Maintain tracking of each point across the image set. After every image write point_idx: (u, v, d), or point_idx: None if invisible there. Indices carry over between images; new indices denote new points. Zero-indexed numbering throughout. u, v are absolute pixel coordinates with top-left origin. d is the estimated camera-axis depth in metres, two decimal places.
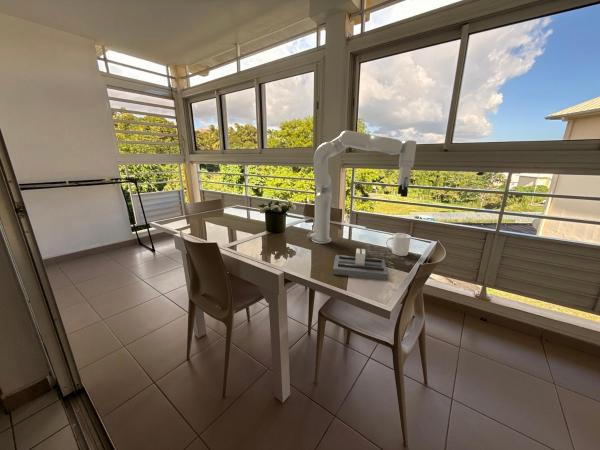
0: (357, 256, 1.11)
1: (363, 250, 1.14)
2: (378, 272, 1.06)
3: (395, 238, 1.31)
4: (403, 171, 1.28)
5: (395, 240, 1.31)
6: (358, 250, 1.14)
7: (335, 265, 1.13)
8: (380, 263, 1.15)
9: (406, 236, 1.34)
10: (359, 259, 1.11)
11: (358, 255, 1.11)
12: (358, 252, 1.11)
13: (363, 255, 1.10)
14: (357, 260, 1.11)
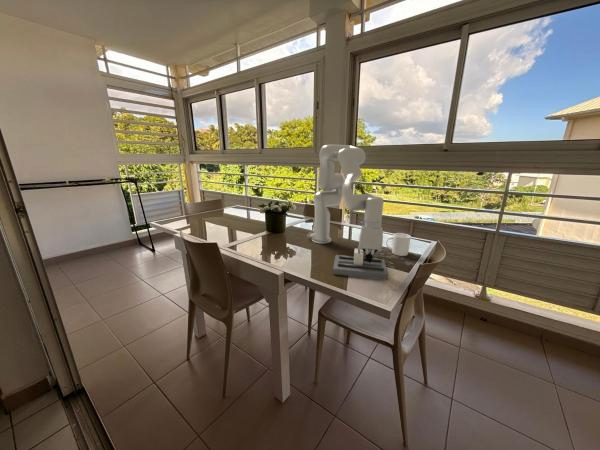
0: (355, 256, 1.11)
1: (361, 250, 1.14)
2: (378, 272, 1.06)
3: (395, 238, 1.31)
4: (382, 233, 1.07)
5: (395, 240, 1.31)
6: (356, 250, 1.14)
7: (335, 265, 1.13)
8: (380, 263, 1.15)
9: (406, 236, 1.34)
10: (357, 259, 1.11)
11: (356, 255, 1.11)
12: (356, 252, 1.12)
13: (361, 255, 1.10)
14: (355, 260, 1.12)
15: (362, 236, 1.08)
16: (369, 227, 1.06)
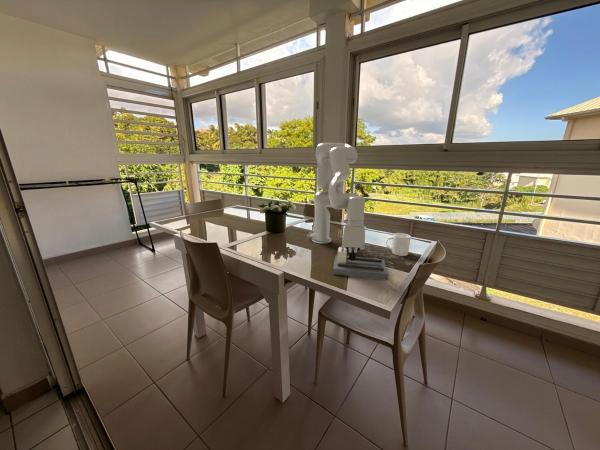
0: (338, 254, 1.13)
1: (345, 248, 1.16)
2: (378, 272, 1.06)
3: (395, 238, 1.31)
4: (364, 232, 1.09)
5: (395, 240, 1.31)
6: (340, 248, 1.15)
7: (335, 265, 1.13)
8: (380, 263, 1.15)
9: (406, 236, 1.34)
10: (340, 257, 1.13)
11: (340, 253, 1.12)
12: (340, 250, 1.13)
13: (344, 253, 1.12)
14: (339, 258, 1.13)
15: (345, 235, 1.10)
16: (351, 226, 1.07)
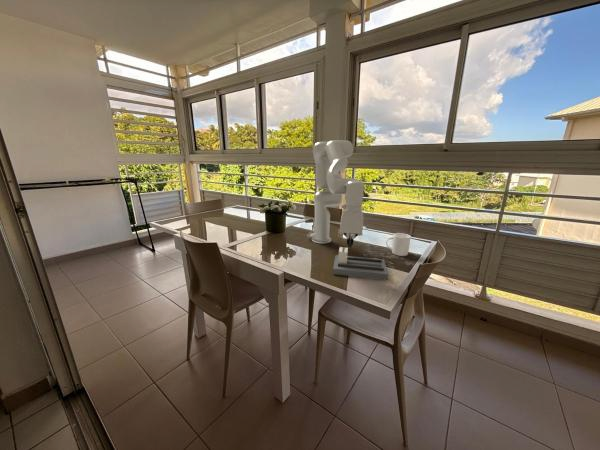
0: (339, 254, 1.12)
1: (346, 248, 1.15)
2: (378, 272, 1.06)
3: (395, 238, 1.31)
4: (362, 218, 1.07)
5: (395, 240, 1.31)
6: (341, 248, 1.15)
7: (335, 265, 1.13)
8: (380, 263, 1.15)
9: (406, 236, 1.34)
10: (341, 257, 1.13)
11: (341, 253, 1.12)
12: (341, 250, 1.13)
13: (345, 253, 1.12)
14: (340, 258, 1.13)
15: (343, 220, 1.09)
16: (349, 211, 1.06)
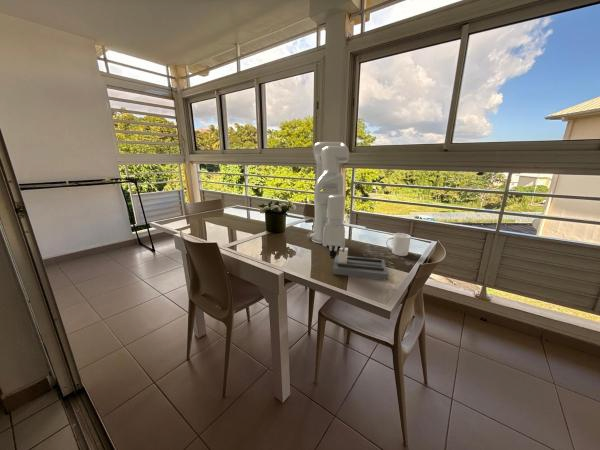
0: (340, 254, 1.12)
1: (346, 248, 1.15)
2: (378, 272, 1.06)
3: (395, 238, 1.31)
4: (344, 230, 1.10)
5: (395, 240, 1.31)
6: (341, 248, 1.15)
7: (335, 265, 1.13)
8: (380, 263, 1.15)
9: (406, 236, 1.34)
10: (342, 257, 1.13)
11: (341, 253, 1.12)
12: (341, 250, 1.13)
13: (345, 253, 1.12)
14: (340, 258, 1.13)
15: (325, 233, 1.12)
16: (331, 224, 1.09)
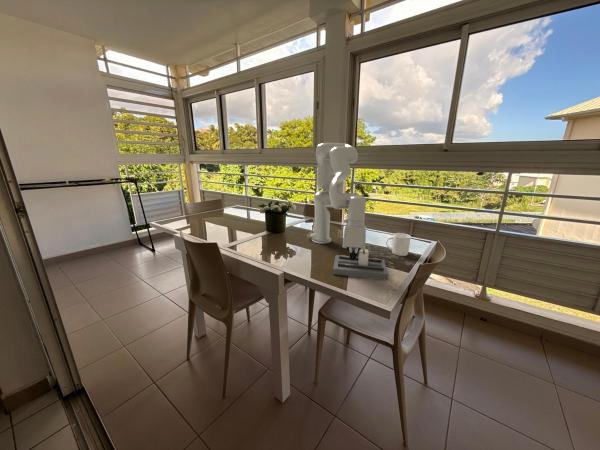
0: (360, 256, 1.11)
1: (366, 250, 1.14)
2: (378, 272, 1.06)
3: (395, 238, 1.31)
4: (365, 232, 1.08)
5: (395, 240, 1.31)
6: (361, 250, 1.13)
7: (335, 265, 1.13)
8: (380, 263, 1.15)
9: (406, 236, 1.34)
10: (362, 259, 1.11)
11: (361, 255, 1.10)
12: (361, 252, 1.11)
13: (366, 255, 1.10)
14: (360, 260, 1.11)
15: (345, 234, 1.10)
16: (352, 226, 1.07)
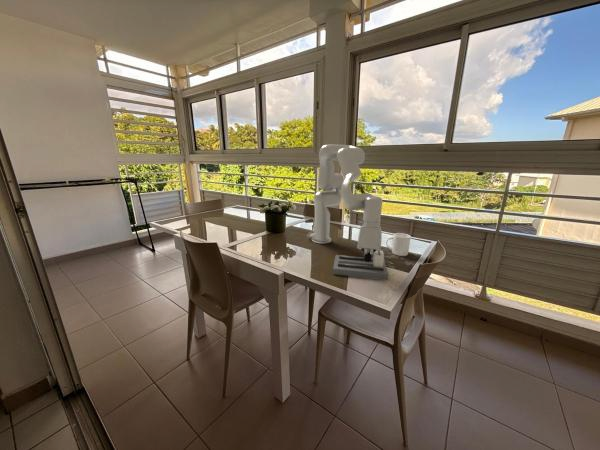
0: (376, 258, 1.09)
1: (381, 252, 1.12)
2: (378, 272, 1.06)
3: (395, 238, 1.31)
4: (381, 233, 1.07)
5: (395, 240, 1.31)
6: (376, 252, 1.12)
7: (335, 265, 1.13)
8: None
9: (406, 236, 1.34)
10: (378, 261, 1.09)
11: (377, 256, 1.09)
12: (376, 254, 1.10)
13: (382, 257, 1.08)
14: (375, 262, 1.10)
15: (361, 236, 1.08)
16: (368, 227, 1.06)
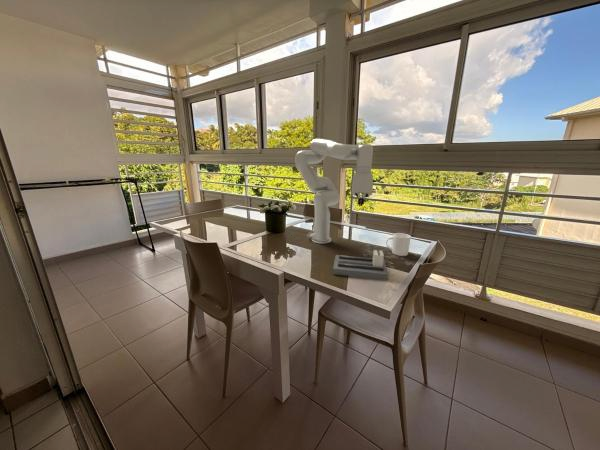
0: (375, 258, 1.09)
1: (381, 252, 1.12)
2: (378, 272, 1.06)
3: (395, 238, 1.31)
4: (372, 178, 1.20)
5: (395, 240, 1.31)
6: (376, 252, 1.12)
7: (335, 265, 1.13)
8: None
9: (406, 236, 1.34)
10: (377, 261, 1.09)
11: (376, 256, 1.09)
12: (376, 254, 1.10)
13: (381, 257, 1.08)
14: (375, 262, 1.10)
15: (354, 181, 1.22)
16: (360, 172, 1.19)
